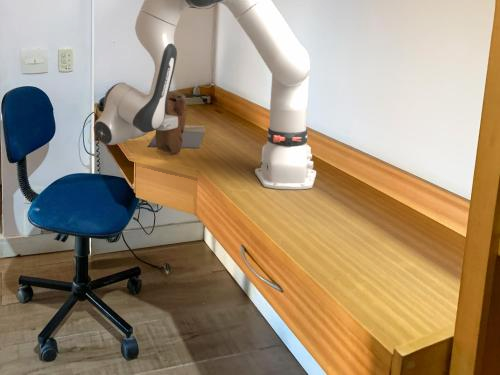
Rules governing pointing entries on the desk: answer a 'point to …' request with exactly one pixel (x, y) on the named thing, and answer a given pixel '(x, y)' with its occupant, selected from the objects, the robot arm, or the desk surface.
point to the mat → (186, 140)
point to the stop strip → (194, 128)
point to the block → (173, 137)
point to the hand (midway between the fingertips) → (162, 115)
